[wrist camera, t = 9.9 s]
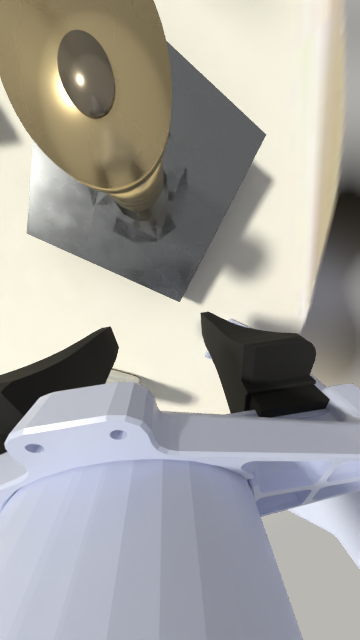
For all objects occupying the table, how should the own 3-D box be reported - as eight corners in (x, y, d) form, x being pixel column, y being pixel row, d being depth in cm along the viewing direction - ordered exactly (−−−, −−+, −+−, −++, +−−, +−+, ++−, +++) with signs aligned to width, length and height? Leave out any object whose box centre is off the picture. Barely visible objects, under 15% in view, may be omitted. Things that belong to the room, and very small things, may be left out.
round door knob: (181, 153, 10) (201, 20, 4) (153, 230, 12) (139, 214, 6) (105, 97, 9) (-25, -218, 3) (87, 193, 11) (-16, 124, 5)
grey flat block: (245, 157, 15) (266, 134, 12) (177, 293, 21) (179, 302, 18) (80, 18, 11) (47, -71, 8) (52, 235, 17) (26, 233, 14)
